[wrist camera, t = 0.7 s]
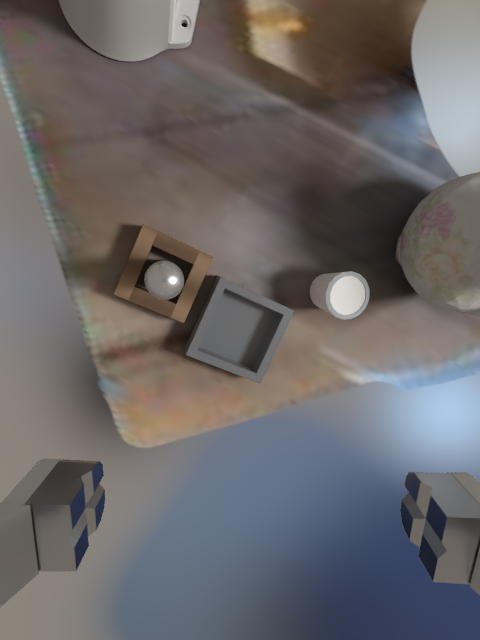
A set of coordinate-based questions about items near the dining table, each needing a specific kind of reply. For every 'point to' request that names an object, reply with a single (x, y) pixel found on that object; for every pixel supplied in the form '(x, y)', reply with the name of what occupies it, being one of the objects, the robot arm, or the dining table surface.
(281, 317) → the tray
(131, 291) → the socket block
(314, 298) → the shot glass
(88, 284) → the dining table surface
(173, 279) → the steel pin
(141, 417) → the dining table surface
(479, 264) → the ceramic pitcher
